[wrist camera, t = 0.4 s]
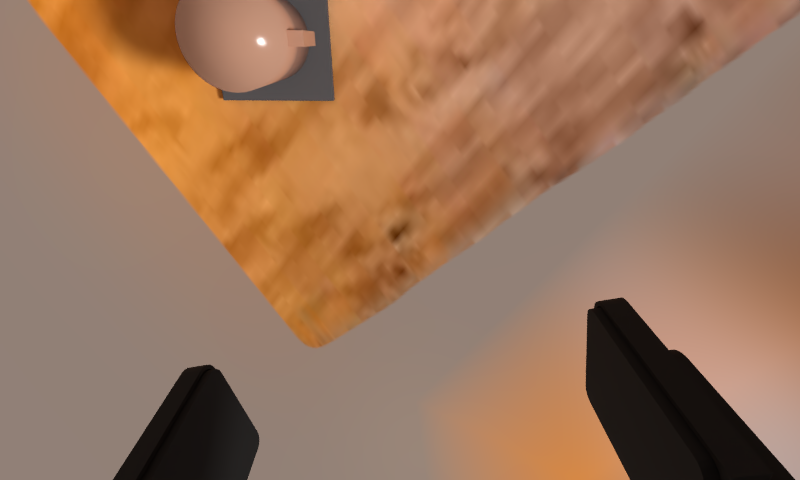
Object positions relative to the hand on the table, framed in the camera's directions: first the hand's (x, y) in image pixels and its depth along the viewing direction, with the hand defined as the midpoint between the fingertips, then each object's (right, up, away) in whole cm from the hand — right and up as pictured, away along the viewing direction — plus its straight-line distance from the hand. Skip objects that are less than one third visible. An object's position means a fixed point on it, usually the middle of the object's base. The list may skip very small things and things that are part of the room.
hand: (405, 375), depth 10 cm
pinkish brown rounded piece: (-11, +21, +23) cm, 33 cm away
